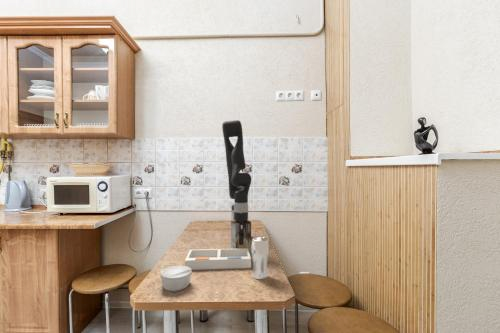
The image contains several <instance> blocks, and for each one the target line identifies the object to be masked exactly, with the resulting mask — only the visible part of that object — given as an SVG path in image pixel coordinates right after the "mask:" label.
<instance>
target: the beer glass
mask: <svg viewBox="0 0 500 333" xmlns="http://www.w3.org/2000/svg"><path fill="white" fill-rule="evenodd" d="M269 250H270V247H269V238H268V237H265V236H264V237H263V236H255V237H251V252H250V253H251V261H252V264H253V266H252V267H253V269H252V274H251V275H252V278H253V279H255V280H261V281H262V280H265V279H267V278H268V270H267V265H268V260H269V253H270V251H269Z"/></svg>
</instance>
